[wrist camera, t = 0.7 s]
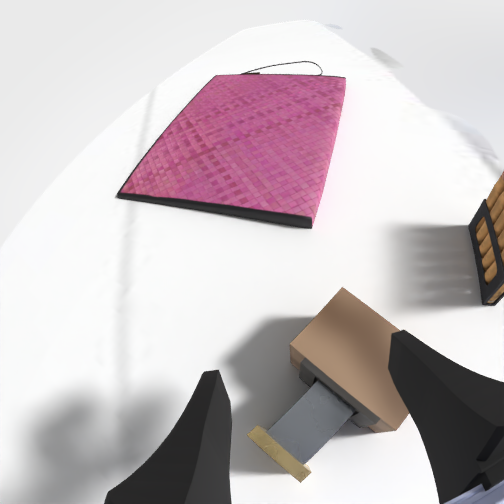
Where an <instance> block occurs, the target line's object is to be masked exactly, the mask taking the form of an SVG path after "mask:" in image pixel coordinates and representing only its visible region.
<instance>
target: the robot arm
mask: <svg viewBox="0 0 504 504" xmlns="http://www.w3.org/2000/svg"><path fill="white" fill-rule="evenodd" d="M388 370H389V372H390V375H391V378H392V380H393V383H394V385H395V387H396V389H397V391H398V393H399V395H400V397H401V398H402V400H403V402H404V404H405V406H406V407H407V409H408V411H409V413H410V415H411V417H412V418H413V420H414V422H415V424H416V426H417V428H418V430H419V432H420V435H421V438H422V440H423V443H424V446H425V449H426V452H427V455H428V458H429V461H430V464H431V468H432V471H433V475H434V479H435V483H436V487H437V492H438V497H439V503H440V504H504V382H501V381H497V380H494V379H491V378H488V377H485V376H483V375H480V374H478V373H476V372H473V371H471V370H469V369H467V368H465V367H463V366H461V365H459V364H457V363H455V362H453V361H452V360H450V359H448V358H446V357H445V356H443V355H441V354H440V353H438V352H437V351H435V350H434V349H432V348H430V347H429V346H427V345H426V344H425V343H423V342H422V341H420V340H419V339H417V338H416V337H414V336H413V335H411V334H410V333H408V332H407V331H405V330H401V331H398V332H395V333H391V343H390V353H389V362H388ZM231 429H232V418H231V404H230V399H229V397H228V394H227V391H226V389H225V386H224V383H223V380H222V378H221V375H220V372H219V370H213V371H206V372H204V373H203V374H202V376H201V378H200V380H199V382H198V385H197V387H196V389H195V391H194V393H193V395H192V397H191V399H190V401H189V403H188V404H187V406H186V408H185V410H184V412H183V413H182V415H181V417H180V418H179V420H178V421H177V423H176V425H175V426H174V428H173V429H172V431H171V432H170V433H169V435H168V436H167V438H166V439H165V440H164V441H163V443H162V444H161V445H160V446H159V448H158V449H157V450H156V451H155V452H154V453H153V454H152V456H151V457H150V458H149V459H148V460H147V461H146V462H145V463H144V464H143V465H142V466H141V467H139V468H138V469H137V470H136V471H135V472H134V473H133V474H132V475H131V476H129V477H128V478H127V479H126V480H124V481H123V482H121V483H120V484H119V485H117V486H116V487H115V488H113V489H112V490H110V491H109V492H108V493H107V496H106V499H105V503H104V504H231V493H230V479H229V464H230V447H231Z"/></svg>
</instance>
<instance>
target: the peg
mask: <svg viewBox="0 0 504 504" xmlns="http://www.w3.org/2000/svg"><path fill="white" fill-rule="evenodd" d="M355 411H356V410H355V409H354V408H352V407H351V406H350V405H349V404H347V403H346V402H345V401H344V400H343V399H341V398H340V397H339V396H338V395H336V394H335V393H334V392H333V391H332V390H330V389H329V388H328V387H327V386H326V385H324V384H323V383H322V382H321V381H320V380H317V382H316V383H315V384H314V385H313V386H312V387H311V388H310V389H309V390H308V391H307V392H306V393H305V394H304V395H303V396H302V397H301V398H300V399H299V400H298V401H297V402H296V403H295V404H294V405H293V406H292V407H291V408H290V409H289V410H288V411H287V412H286V413H285V414H284V415H283V416H282V417H281V418H280V419H279V420H278V421H277V422H276V423H275V424H274V425H273V426H272V427H271V428H270V429H269V430H268V431H267V430H266V429H265V428H264V427H261V426H258V425H257V426H256V427H255V428H254V429H253V430H252V431H251V432H249V433H248V434H247V436H248V437H249V438H250V439H252V440H253V441H254V442H255V443H256V444H257V445H258V446H259V447H260V448H261V449H262V450H263V451H264V452H266V453H267V454H268V455H269V456H270V457H271V458H272V459H273V460H275V461H276V462H277V463H278V464H279V465H280V466H281V467H283V468H284V469H285V470H286V471H287V472H288V473H290V474H291V475H292V476H293V477H294V478H296V479H297V480H298V481H299V482H300V483H301V482H302V481H303V480H304V479H305V478H306V477H307V476H308V475H309V474H310V473H311V471H310V469H309V467H308V466H307V465H306V464H305V463H306V462H307V461H308V460H310V459H311V458H312V457H313V456H314V455H315V454H316V453H317V452H318V451H319V450H320V449H321V448H322V447H323V446H324V445H325V444H326V443H327V441H328V440H329V439H330V438H331V437H332V436H333V435H334V434H335V433H336V432H337V431H338V430H339V429H340V428H341V427H342V425H343V424H344V423H345V422H346V421H347V420H348V419H349V418H350V417H351V415H352V414H353V413H354V412H355Z"/></svg>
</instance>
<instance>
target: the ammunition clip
mask: <svg viewBox="0 0 504 504" xmlns="http://www.w3.org/2000/svg"><path fill="white" fill-rule="evenodd" d="M468 227H469V231H470V235H471V240H472V244H473V249H474V254H475V259H476V265H477V270H478V276H479V283H480V290H481V297H482V304H483V305H494V306H495V305H496V304H497V303H498V302H499V301H500V300H501V299H502V298H503V297H504V171H503V173H502V175H501V177H500V178H499V180H498V181H497V182H496V184H495V185H494V187H493V189H492V191H491V193H490V195H489V197H488V198H487V200H486V199H484V200H483V202H482V204H481V206H480V207H479V209H478V211H477V212H476V214H475V216H474V217H473V219H472V221H471V222H470V224H469V226H468Z"/></svg>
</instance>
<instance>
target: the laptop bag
mask: <svg viewBox="0 0 504 504" xmlns="http://www.w3.org/2000/svg"><path fill="white" fill-rule="evenodd" d="M301 62H309V61H301ZM293 63H299V62H293ZM311 63H313V62H311ZM285 64H291V63H285ZM314 64H316V63H314ZM278 65H283V64H278ZM316 65H317V64H316ZM272 66H276V65H272ZM317 66H318V65H317ZM267 67H271V66H267ZM263 68H266V67H263ZM259 69H262V68H259ZM320 69H321V68H320ZM255 70H258V69H255ZM321 70H322V69H321ZM252 71H254V70H252ZM249 72H251V71H249ZM321 74H322V73H321ZM321 74H320V75H292V74H260V72H258V73H248V72H246V73H242V74H237V75H216V76H214V77H213V78H212V79H211V80H210V81H209V82H208V83H207V84H206V85H205V86H204V87H203V88H202V89H201V90H200V91H199V92H198V93H197V95H196V96H195V97H194V98H193V99H192V100H191V101H190V102H189V103H188V104H187V105H186V107H185V108H184V109H183V110H182V111H181V112H180V113H179V114H178V115H177V117H176V118H175V119H174V120H173V121H172V122H171V124H170V125H169V126H168V127H167V128H166V130H165V131H164V132H163V133H162V134H161V136H160V137H159V138H158V139H157V140H156V142H155V143H154V144H153V145H152V147H151V148H150V149H149V150H148V152H147V153H146V154H145V156H144V157H143V158H142V159H141V161H140V162H139V163H138V165H137V166H136V167H135V169H134V170H133V171H132V173H131V174H130V176H129V177H128V179H127V180H126V181H125V183H124V184H123V186H122V187H121V189H120V190H119V192H118V193H117V196H118V198H120V199H128V200H135V201H142V202H149V203H155V204H162V205H169V206H175V207H182V208H189V209H195V210H202V211H208V212H214V213H220V214H226V215H232V216H238V217H244V218H249V219H255V220H261V221H266V222H272V223H278V224H284V225H289V226H295V227H301V228H311V229H312V226H313V223H314V220H315V217H316V213H317V210H318V207H319V204H320V200H321V197H322V193H323V189H324V185H325V181H326V177H327V173H328V169H329V165H330V160H331V156H332V152H333V148H334V144H335V139H336V135H337V130H338V125H339V121H340V116H341V111H342V106H343V101H344V96H345V87H346V78H345V77H338V76H323V75H321Z"/></svg>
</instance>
